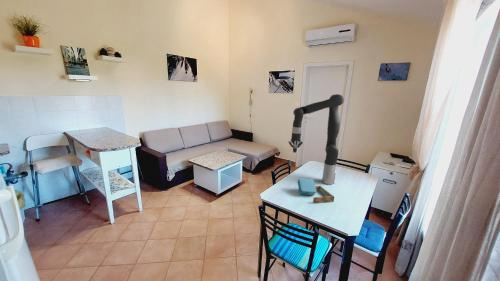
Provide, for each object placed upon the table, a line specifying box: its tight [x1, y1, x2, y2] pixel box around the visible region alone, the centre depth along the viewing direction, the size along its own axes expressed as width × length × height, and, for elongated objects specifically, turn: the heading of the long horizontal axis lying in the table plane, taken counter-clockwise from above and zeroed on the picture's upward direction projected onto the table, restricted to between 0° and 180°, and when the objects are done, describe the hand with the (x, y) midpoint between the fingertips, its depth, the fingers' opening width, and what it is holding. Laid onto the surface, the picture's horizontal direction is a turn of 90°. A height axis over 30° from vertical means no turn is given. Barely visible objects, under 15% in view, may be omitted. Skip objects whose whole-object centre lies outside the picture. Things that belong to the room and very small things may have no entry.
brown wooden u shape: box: [312, 185, 335, 204], centre depth 152 cm, size 16×18×4 cm
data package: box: [297, 177, 317, 196], centre depth 156 cm, size 12×4×12 cm
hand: (294, 152), depth 171 cm, fingers closed
